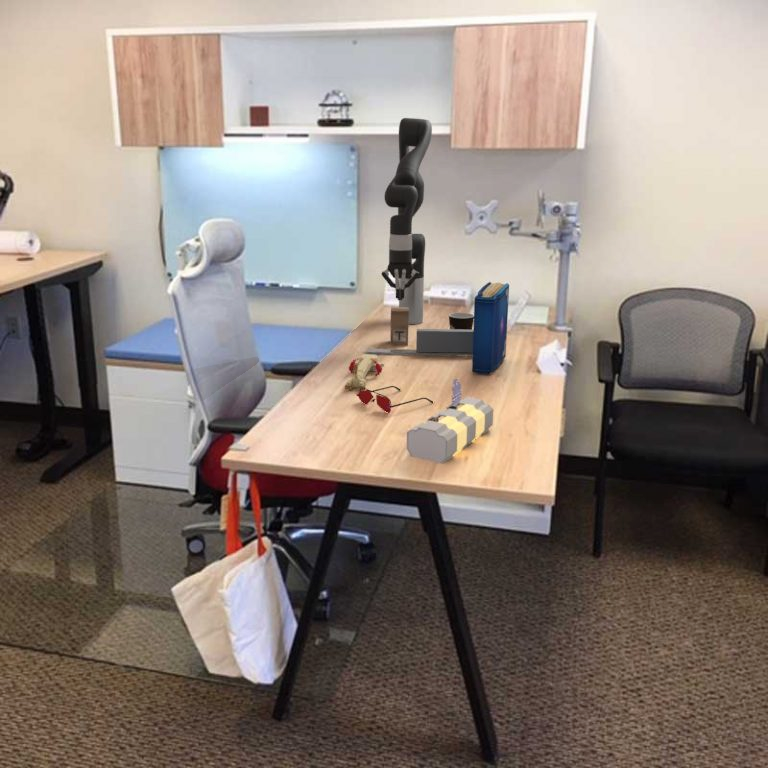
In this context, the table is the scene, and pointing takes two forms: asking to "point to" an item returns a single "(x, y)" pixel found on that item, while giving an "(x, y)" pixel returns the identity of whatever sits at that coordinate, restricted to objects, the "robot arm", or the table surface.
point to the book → (490, 327)
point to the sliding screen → (444, 340)
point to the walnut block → (399, 325)
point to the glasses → (381, 398)
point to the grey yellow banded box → (450, 429)
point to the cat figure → (363, 370)
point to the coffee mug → (461, 321)
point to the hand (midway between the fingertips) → (399, 299)
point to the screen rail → (409, 352)
